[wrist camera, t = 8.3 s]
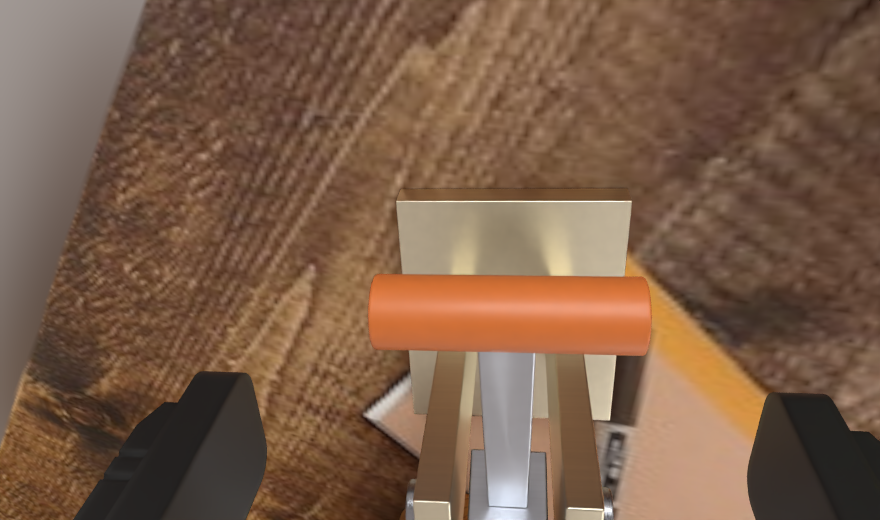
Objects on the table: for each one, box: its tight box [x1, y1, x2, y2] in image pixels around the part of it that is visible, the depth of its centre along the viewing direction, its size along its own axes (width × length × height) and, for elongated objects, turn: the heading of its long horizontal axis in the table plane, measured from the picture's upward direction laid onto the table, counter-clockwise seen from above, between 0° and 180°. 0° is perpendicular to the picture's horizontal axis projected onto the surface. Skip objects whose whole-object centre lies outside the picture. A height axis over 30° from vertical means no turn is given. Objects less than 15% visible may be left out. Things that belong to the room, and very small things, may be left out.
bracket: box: [396, 188, 632, 520], centre depth 24 cm, size 11×9×13 cm
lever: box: [368, 274, 652, 520], centre depth 17 cm, size 12×5×2 cm, turn 4°
